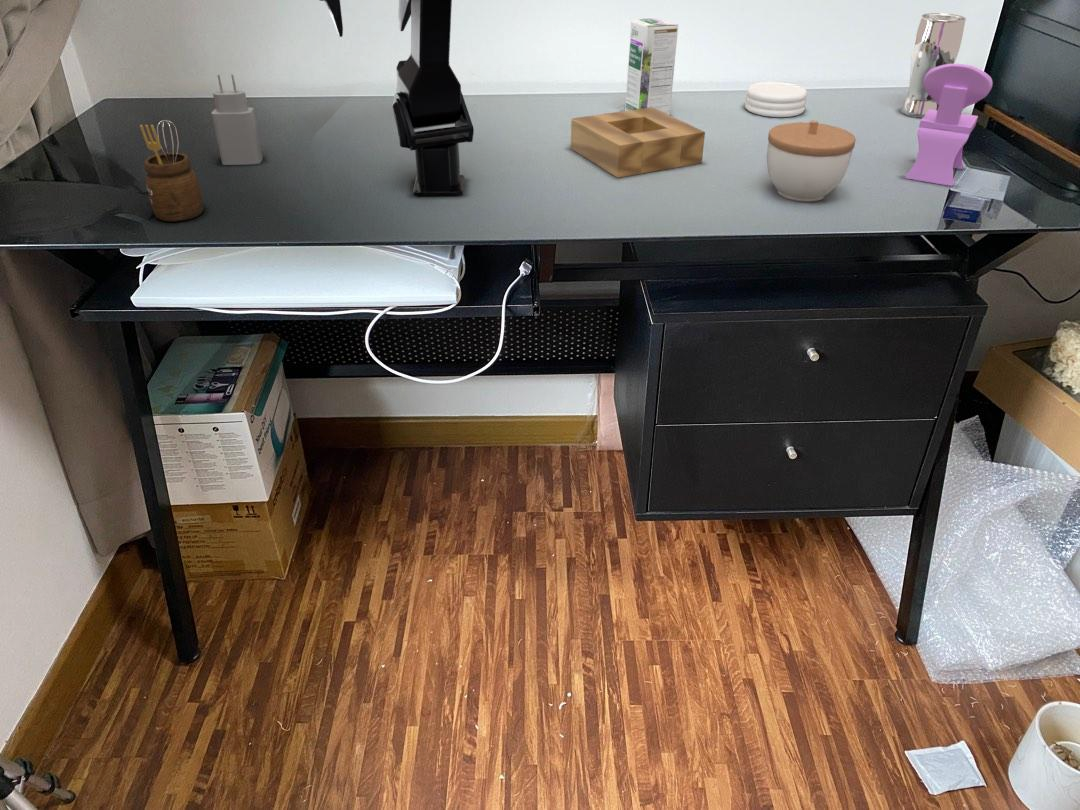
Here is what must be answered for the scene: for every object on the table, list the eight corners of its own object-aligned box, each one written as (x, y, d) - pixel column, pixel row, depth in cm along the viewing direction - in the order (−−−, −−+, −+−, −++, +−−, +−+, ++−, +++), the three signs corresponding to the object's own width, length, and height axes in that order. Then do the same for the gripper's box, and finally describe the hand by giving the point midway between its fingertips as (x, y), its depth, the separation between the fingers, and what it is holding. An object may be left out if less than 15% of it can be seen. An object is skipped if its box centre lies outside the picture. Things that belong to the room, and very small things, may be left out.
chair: (971, 168, 121) (1003, 57, 113) (961, 187, 115) (995, 71, 106) (910, 158, 124) (937, 49, 116) (897, 176, 118) (925, 63, 110)
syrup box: (623, 112, 144) (628, 19, 136) (653, 108, 146) (660, 16, 138) (640, 121, 140) (647, 26, 132) (671, 116, 142) (679, 22, 134)
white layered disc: (733, 104, 148) (736, 83, 146) (784, 99, 151) (787, 79, 149) (762, 120, 140) (766, 98, 138) (815, 115, 143) (819, 93, 141)
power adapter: (259, 164, 122) (243, 77, 115) (220, 165, 122) (202, 77, 115) (263, 157, 125) (247, 71, 118) (225, 158, 125) (207, 72, 118)
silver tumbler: (898, 117, 142) (921, 19, 133) (897, 105, 147) (919, 11, 139) (943, 120, 140) (969, 22, 132) (940, 109, 146) (965, 14, 137)
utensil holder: (210, 204, 109) (189, 109, 103) (195, 223, 104) (172, 124, 98) (164, 205, 109) (139, 109, 103) (147, 224, 104) (119, 125, 97)
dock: (617, 177, 118) (619, 145, 115) (570, 148, 128) (571, 118, 126) (701, 163, 123) (705, 131, 120) (650, 136, 133) (652, 106, 131)
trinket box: (843, 183, 116) (857, 113, 111) (844, 212, 108) (860, 137, 102) (762, 175, 119) (773, 106, 113) (757, 203, 110) (768, 130, 105)
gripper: (413, -107, 122) (413, 3, 134) (281, -103, 115) (293, 13, 127) (441, -77, 116) (438, 36, 127) (303, -70, 109) (313, 48, 121)
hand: (371, 32), depth 126 cm, fingers open, 9 cm apart
